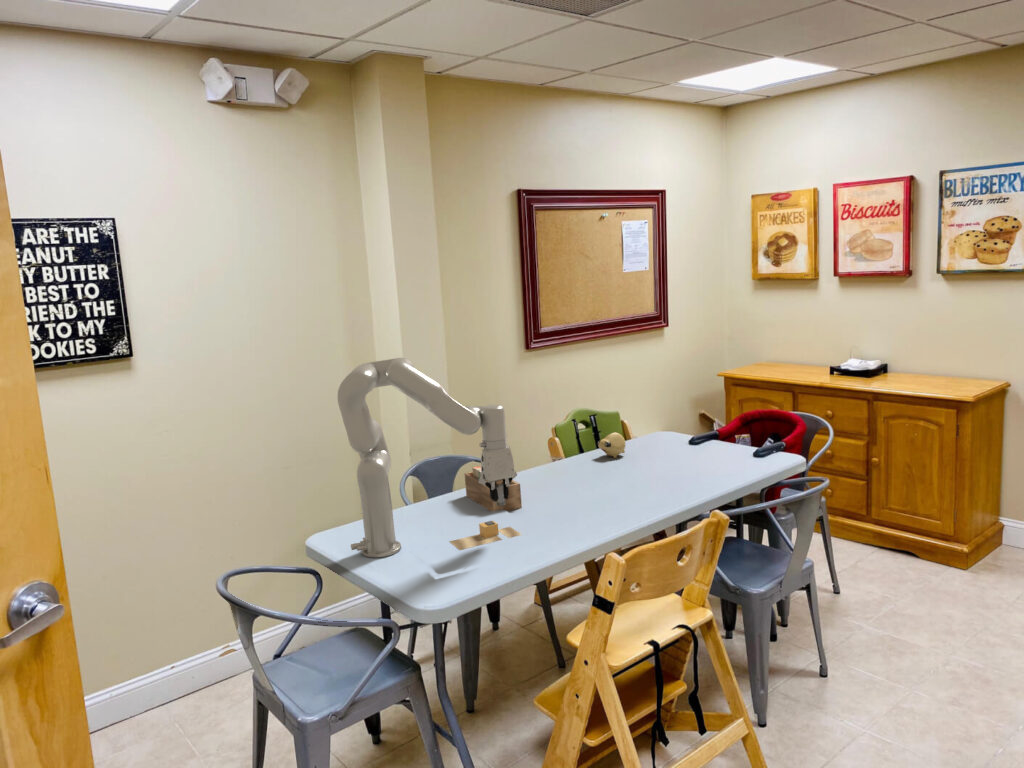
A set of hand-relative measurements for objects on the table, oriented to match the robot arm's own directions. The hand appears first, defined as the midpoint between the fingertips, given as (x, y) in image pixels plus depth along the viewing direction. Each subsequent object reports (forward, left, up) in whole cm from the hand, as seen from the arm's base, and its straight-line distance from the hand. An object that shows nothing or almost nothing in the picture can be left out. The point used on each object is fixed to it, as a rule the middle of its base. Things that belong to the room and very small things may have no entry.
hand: (499, 498), depth 244 cm
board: (-5, +2, -14) cm, 15 cm away
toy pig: (+83, +61, -14) cm, 104 cm away
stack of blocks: (+13, +36, -14) cm, 41 cm away
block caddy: (+14, +38, -14) cm, 42 cm away
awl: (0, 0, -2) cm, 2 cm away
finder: (-3, +5, -13) cm, 14 cm away
